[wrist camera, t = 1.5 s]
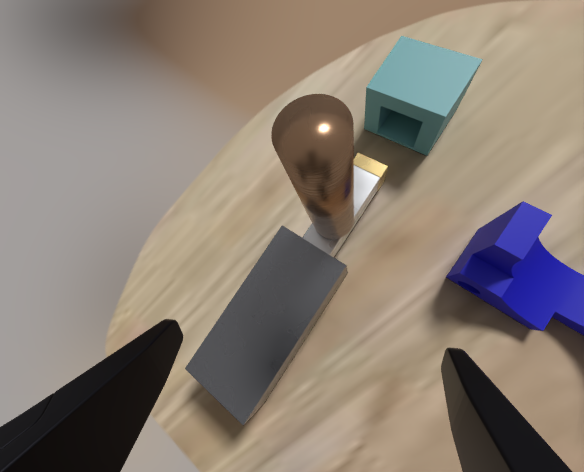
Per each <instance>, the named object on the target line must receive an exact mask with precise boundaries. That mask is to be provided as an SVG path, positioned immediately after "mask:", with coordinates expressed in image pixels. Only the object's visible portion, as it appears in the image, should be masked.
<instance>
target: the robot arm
mask: <svg viewBox="0 0 584 472" xmlns="http://www.w3.org/2000/svg"><path fill="white" fill-rule="evenodd" d="M182 341H183V333H182V331H181V329H180V327H179V325H178V322H177V321H176V320H171V319H165V320H163V321H161V322H160V323H158V324H157V325H155V326H154V327H152V328H151V329H149V330H148V331H146V332H145V333H143V334H142V335H140V336H139V337H137V338H136V339H134V340H132V341H131V342H129V343H128V344H126V345H125V346H123V347H122V348H120V349H119V350H117V351H116V352H114V353H113V354H111V355H110V356H108V357H107V358H105V359H104V360H102V361H101V362H99V363H98V364H96V365H95V366H93V367H92V368H90V369H89V370H87V371H86V372H84V373H83V374H81V375H80V376H78V377H77V378H75V379H74V380H72V381H71V382H69V383H68V384H66V385H65V386H63V387H62V388H60V389H59V390H57V391H56V392H55V393H54V394H51V395H50V396H48V397H47V398H45V399H44V400H42V401H41V402H39V403H38V404H36V405H35V406H33V407H32V408H30V409H28V410H27V411H25V412H24V413H22V414H21V415H19V416H18V417H16V418H14V419H13V420H11V421H9V422H8V423H6V424H4V425H3V426H1V427H0V472H120V471H121V469H122V467H123V465H124V463H125V461H126V460H127V458H128V455H129V454H130V452H131V450H132V448H133V446H134V444H135V442H136V440H137V438H138V436H139V434H140V432H141V430H142V428H143V426H144V424H145V422H146V420H147V418H148V416H149V415H150V413H151V411H152V409H153V407H154V405H155V403H156V401H157V399H158V397H159V395H160V393H161V391H162V389H163V387H164V385H165V383H166V381H167V378H168V376H169V374H170V371H171V369H172V366H173V364H174V361H175V359H176V356H177V354H178V351H179V349H180V346H181V344H182ZM441 372H442V379H443V385H444V390H445V396H446V402H447V408H448V414H449V420H450V426H451V430H452V434H453V438H454V442H455V446H456V449H457V453H458V456H459V460H460V464H461V467H462V471H463V472H572V471H571V470H570V469H569V467H568V466H567V465H566V464H565V463H564V462H563V461H562V460H561V459H560V457H559V456H558V455H557V454H556V453H555V452H554V451H553V450H552V448H551V447H550V446H549V445H548V444H547V443H546V442H545V441H544V439H543V438H542V437H541V436H540V435H539V434H538V433H537V432H536V431H535V429H534V428H533V427H532V426H531V425H530V424H529V423H528V422H527V420H526V419H525V418H524V417H523V416H522V415H521V414H520V413H519V412H518V410H517V409H516V408H515V407H514V406H513V405H512V404H511V403H510V401H509V400H508V399H507V398H506V397H505V396H504V395H503V394H502V392H501V391H500V390H499V389H498V388H497V387H496V386H495V385H494V384H493V382H492V381H491V380H490V379H489V378H488V377H487V376H486V375H485V373H484V372H483V371H482V370H481V369H480V368H479V367H478V366H477V364H476V363H475V362H474V361H473V360H472V359H471V358H470V357H469V356H468V354H467V353H466V352H465V351H464V350H462V349H458V348H447V349H446V350H445V354H444V357H443V361H442V365H441Z"/></svg>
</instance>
